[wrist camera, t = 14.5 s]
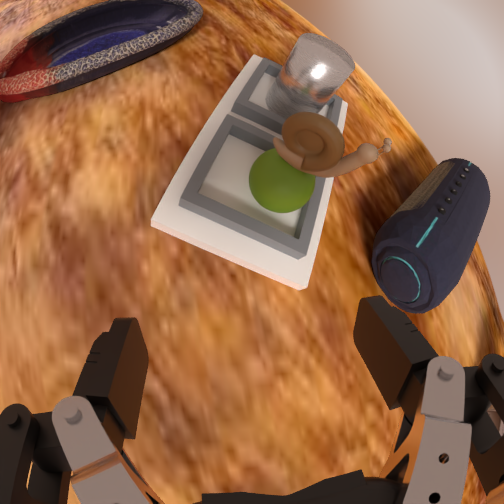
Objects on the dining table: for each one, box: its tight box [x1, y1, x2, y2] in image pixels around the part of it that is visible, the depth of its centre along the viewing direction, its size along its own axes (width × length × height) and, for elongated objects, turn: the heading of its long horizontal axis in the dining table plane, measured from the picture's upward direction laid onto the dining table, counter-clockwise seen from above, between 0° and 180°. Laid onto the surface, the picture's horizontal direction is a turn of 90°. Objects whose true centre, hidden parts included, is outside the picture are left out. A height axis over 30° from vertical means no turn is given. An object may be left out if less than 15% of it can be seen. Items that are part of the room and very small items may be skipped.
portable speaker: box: [372, 158, 490, 313], centre depth 29 cm, size 25×10×10 cm, turn 128°
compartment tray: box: [151, 55, 348, 290], centre depth 28 cm, size 14×26×3 cm, turn 160°
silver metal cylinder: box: [265, 33, 355, 119], centre depth 26 cm, size 6×6×9 cm
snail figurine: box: [249, 112, 392, 213], centre depth 21 cm, size 5×6×12 cm
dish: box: [0, 0, 203, 103], centre depth 24 cm, size 16×31×5 cm, turn 128°
